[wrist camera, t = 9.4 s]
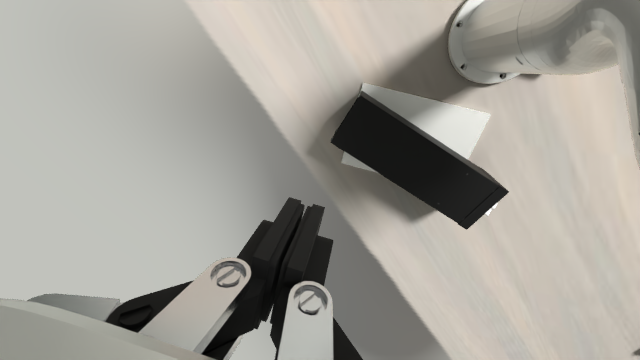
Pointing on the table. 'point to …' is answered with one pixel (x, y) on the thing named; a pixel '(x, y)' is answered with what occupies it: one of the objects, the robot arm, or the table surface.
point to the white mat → (430, 120)
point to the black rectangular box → (417, 162)
